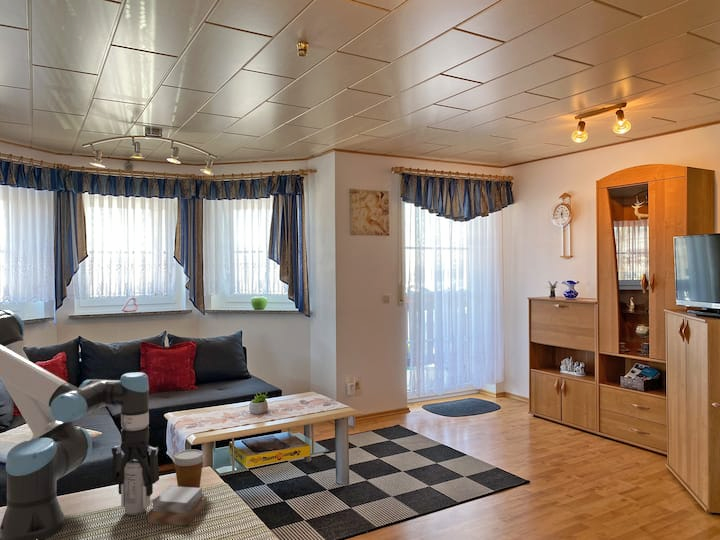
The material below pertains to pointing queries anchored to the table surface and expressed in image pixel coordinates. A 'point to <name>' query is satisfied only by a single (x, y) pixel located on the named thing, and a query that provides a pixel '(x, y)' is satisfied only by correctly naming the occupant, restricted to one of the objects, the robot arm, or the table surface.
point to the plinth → (177, 516)
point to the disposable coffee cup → (188, 468)
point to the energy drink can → (133, 488)
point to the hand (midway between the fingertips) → (135, 505)
